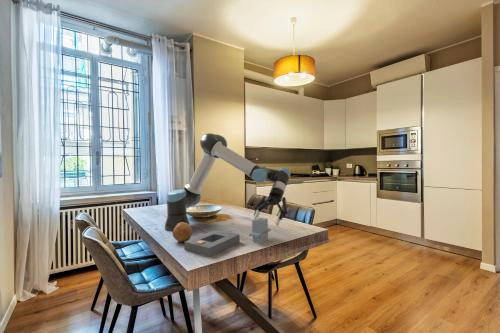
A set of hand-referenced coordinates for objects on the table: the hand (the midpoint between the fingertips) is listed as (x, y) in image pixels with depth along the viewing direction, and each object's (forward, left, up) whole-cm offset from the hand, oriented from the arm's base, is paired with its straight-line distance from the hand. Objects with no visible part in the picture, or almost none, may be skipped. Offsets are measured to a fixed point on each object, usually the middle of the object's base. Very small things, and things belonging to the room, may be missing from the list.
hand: (265, 222), depth 129 cm
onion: (-4, -43, -9) cm, 44 cm away
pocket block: (+6, -27, -9) cm, 29 cm away
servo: (+2, -3, -9) cm, 9 cm away
